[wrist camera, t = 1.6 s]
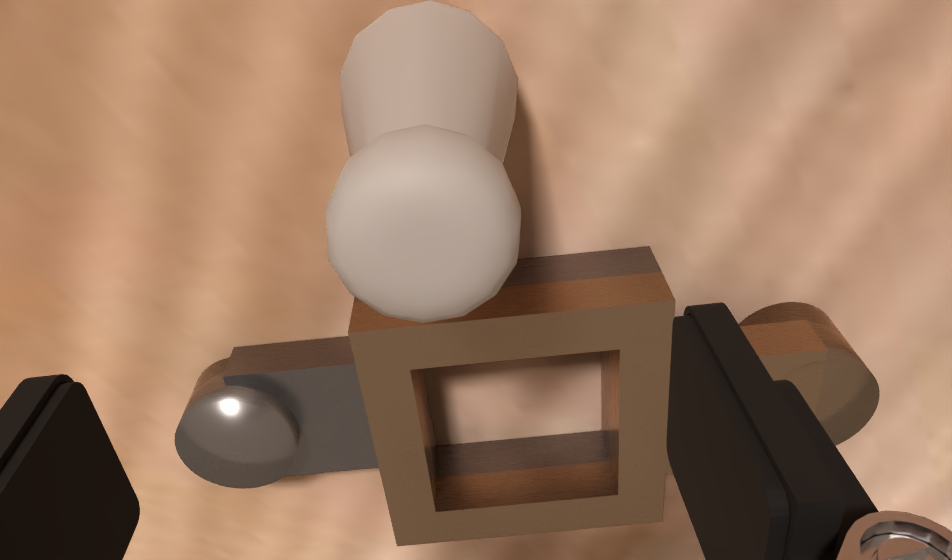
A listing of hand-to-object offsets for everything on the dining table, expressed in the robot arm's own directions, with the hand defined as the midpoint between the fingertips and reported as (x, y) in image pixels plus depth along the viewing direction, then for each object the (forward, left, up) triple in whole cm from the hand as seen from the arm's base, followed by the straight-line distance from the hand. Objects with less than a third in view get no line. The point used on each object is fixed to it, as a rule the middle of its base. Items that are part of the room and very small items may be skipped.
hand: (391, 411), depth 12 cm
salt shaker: (0, 0, -17) cm, 17 cm away
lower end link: (+2, +14, -17) cm, 22 cm away
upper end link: (-7, +14, -17) cm, 23 cm away
